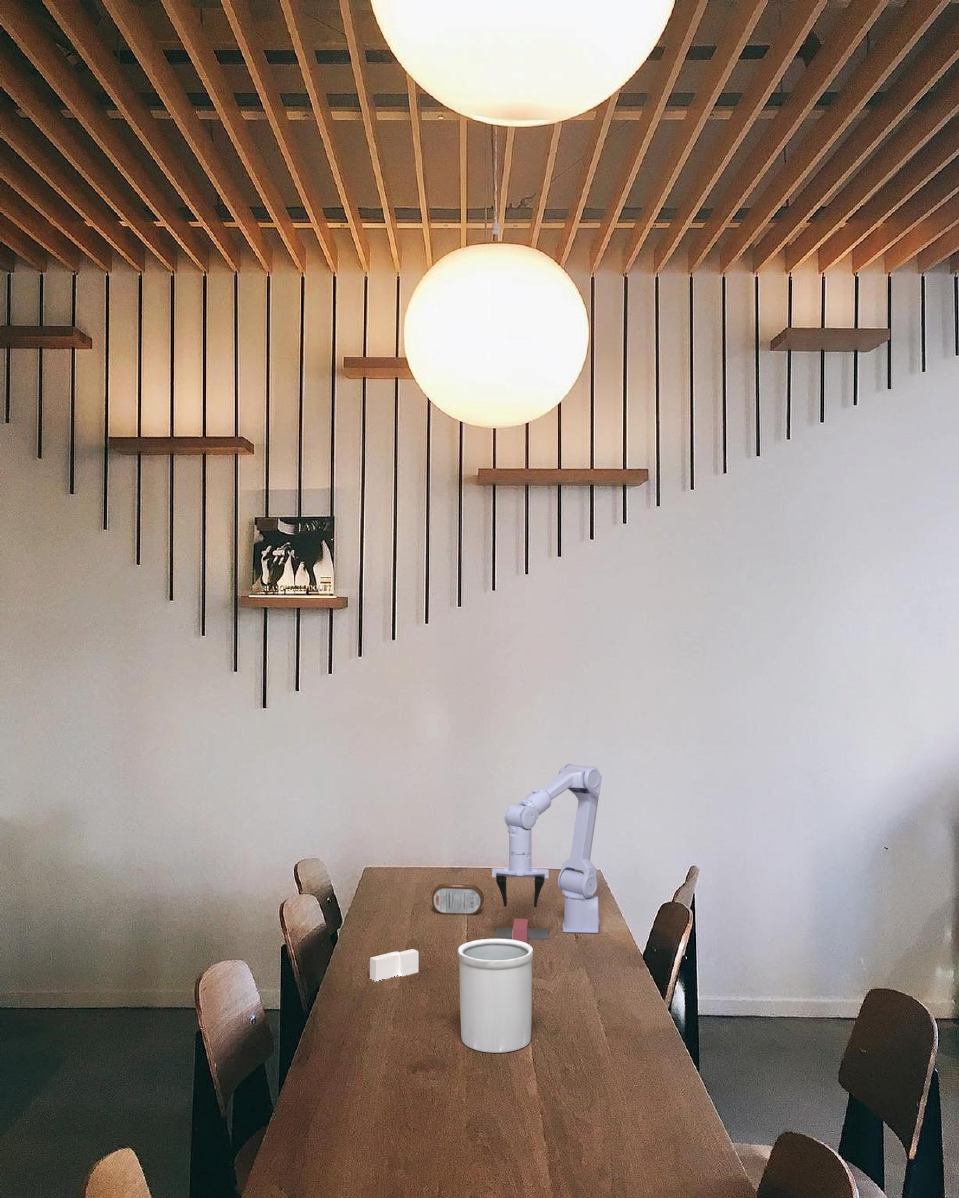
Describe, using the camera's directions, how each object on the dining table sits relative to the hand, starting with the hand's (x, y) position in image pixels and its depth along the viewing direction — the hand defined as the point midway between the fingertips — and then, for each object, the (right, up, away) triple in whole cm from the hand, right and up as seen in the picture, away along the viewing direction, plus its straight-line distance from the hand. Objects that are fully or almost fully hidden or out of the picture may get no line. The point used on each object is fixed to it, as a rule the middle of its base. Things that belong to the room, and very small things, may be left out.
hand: (520, 905), depth 249 cm
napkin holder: (-30, -10, -22) cm, 38 cm away
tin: (-17, -12, +30) cm, 36 cm away
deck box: (0, -11, 0) cm, 10 cm away
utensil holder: (-7, -8, -58) cm, 59 cm away
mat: (+1, -11, +10) cm, 15 cm away
